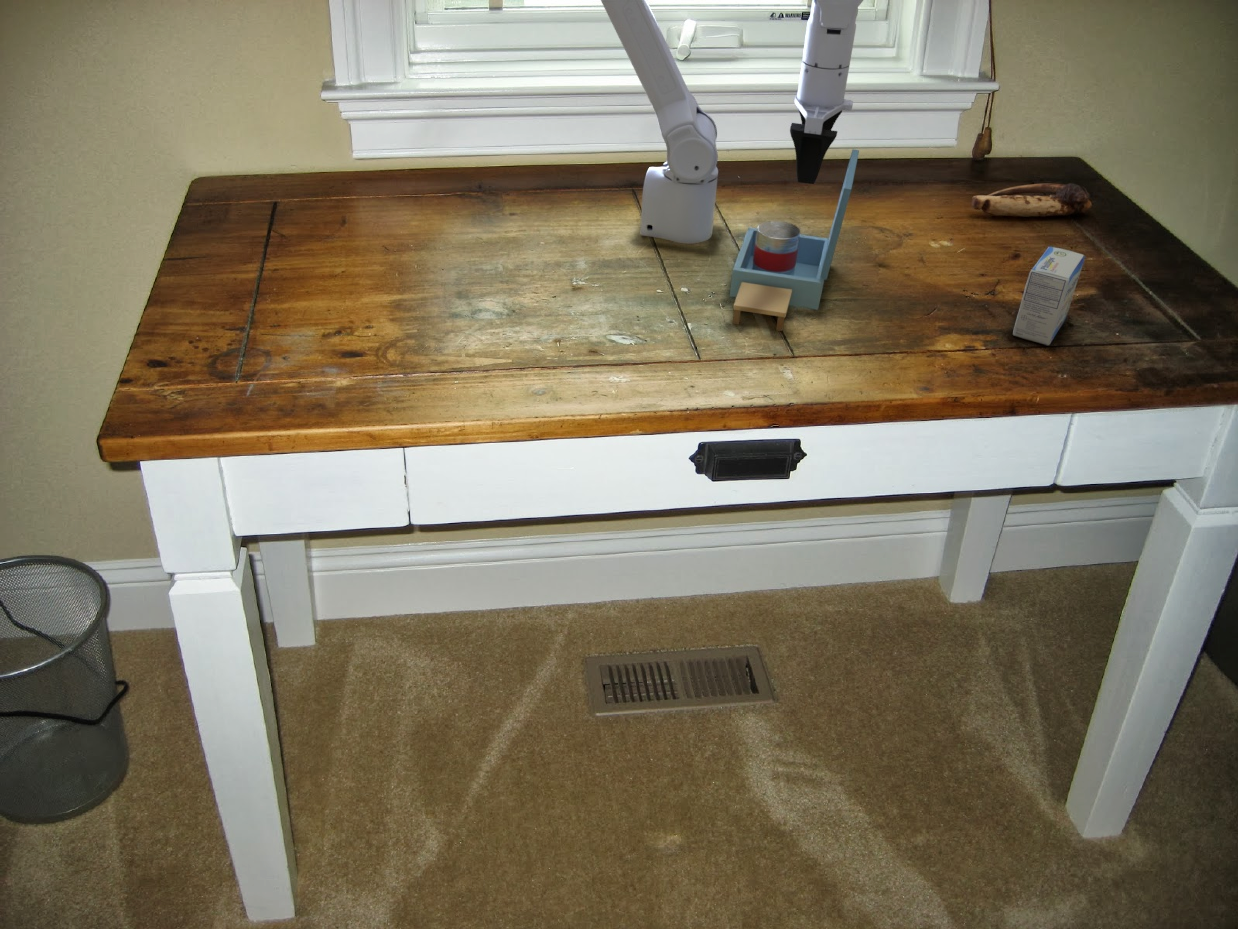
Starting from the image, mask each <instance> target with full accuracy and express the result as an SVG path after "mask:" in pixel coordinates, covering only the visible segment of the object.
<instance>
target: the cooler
mask: <svg viewBox="0 0 1238 929" xmlns="http://www.w3.org/2000/svg"><path fill="white" fill-rule="evenodd" d="M756 234H757V228H756V227H751V226H750V227H749V226H748V227H747V231H746V233H745V236H744V238H743V241H742V244H741V247H740V249H739V252H738V254H737V257H736V259H735V261H734V265H733V268H732V272H731V273H732V274H731V280H730V283H731V284H730V290H729V297H730V298H731V297H732V298H736V297H737V294H738V291H739V289H740V286H741V283H742V282H745V283H751V284H758V285H764V286H771V287H778V288H784V289H791V290H792V295H791V298H790V302H789V306H788V307H794V308H795V307H796V308H803V309H809V310H816V311H818V310H819V307H820V301H821V298H822V292H823V288H824V283H825V280H824V279H820V275H821V271H822V267H823V262H824V258H825V253H826V249H827V244H828V240H829V237H827V238H826V237H819V236H813V235H807V234H806V235H805V234H800V239H799V246H798V254H797V260H796V266H795V272H794V276H792V275H785V274H778V273H771V272H765V271H758V270H752V266H753V257H754V249H755V242H756Z"/></svg>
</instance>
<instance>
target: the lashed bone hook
mask: <svg viewBox="0 0 1238 929" xmlns="http://www.w3.org/2000/svg"><path fill="white" fill-rule="evenodd" d="M1042 193H1050V195H1030V194H1042ZM1023 194H1029V195H1023ZM1090 197H1091V195H1090V193H1089V192H1088V191H1087V188H1086V187H1084V186H1080V185H1078V184H1075V183H1072V182H1070V183H1067V184H1063V183H1061V184H1060V183H1034V184H1024V185H1017V186H1016V185H1015V186H1011V187H1007V188H1003V189H1000V190H997V191H994V192H992V193H989V194H987V195H985V194H984V195H983V194H982V195H981V194H980V195H978V194H977V195H973V196H972V198H971V206H972V208H973V209H974V210H977V211H981V210H982V212H983V213H985V214H989V215H992V216H1011V217H1014V218H1015V217H1016V218H1020V217H1021V218H1023V217H1025V218H1029V217H1041V218H1042V217H1044V218H1045V217H1056V216H1059V217H1060V216H1061V217H1067V216H1070V215H1075V214H1079V213H1080V214H1081V213H1083V214H1084V213H1086V212H1089V211H1090V210H1091V208H1092V207H1093V206H1092V202H1091V200H1090Z"/></svg>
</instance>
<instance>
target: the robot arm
mask: <svg viewBox="0 0 1238 929" xmlns="http://www.w3.org/2000/svg"><path fill="white" fill-rule="evenodd" d="M600 1H601V4H602V6H603V8H604V10H605V13H606V14H607V16H608V19H609V20H610V22H611V24H612V26H613V28H614V31H615V32H616V35H617V36H618V39H619V41H620V43H621V45H622V47H623V49H624V51H625V53H626V55H627V58H628V59H629V62H630V63H631V66H632V68H633V70H634V72H635V74H636V76H637V78H638V80H639V83H640V84H641V86H642V88H643V90H644V92H645V94H646V96H647V99H648V100H649V102H650V105H651V107H652V109H653V111H654V113H655V116H656V120H657V124H658V128H659V131H660V134H661V137H662V139H663V141H664V143H665V146H666V161H665V162H664V163H663V164H662V166H650V167H649V168H648V169H647V171H646V174H645V177H644V181H643V187H642V196H641V197H642V198H641V211H640V212H641V213H640V227H639V228H640V229H639V235H640V236H645V237H651V238H657V239H663V240H667V241H671V242H674V243H679V244H698V243H703V242H706V241H708V240H709V239H710V238H712V236H713V229H714V218H715V217H714V216H715V208H716V198H717V191H718V190H717V188H718V179H719V178H718V177H719V169H718V167H717V164H718V159H719V154H718V150H717V138H718V129H717V128H718V127H717V125H716V122H715V121H714V119H713V118H712V116H710V115H709V114H708V113H706V112H705V111H704V110H703V109H702V108H701V107H700V105H699V103H698V102H697V99H696V97H695V95H694V94H693V93H691V91H690V89H689V88H688V86H687V84H686V82H685V80H684V78H683V75H682V73H681V71H680V69H679V67H678V65H677V63H676V60H675V58H674V56H673V54H672V52H671V49H670V47H669V45H668V43H667V41H666V38H665V36H664V34H663V32H662V30H661V28H660V26H659V24H658V22H657V19H656V17H655V15H654V13H653V11H652V8H651V6H650V4H649V2H648V0H600ZM863 2H864V0H811V6H810V13H809V14H810V15H809V18H808V20H807V22H806V29H805V37H804V42H803V43H804V45H803V50H802V52H803V53H802V58H801V65H800V70H799V71H800V72H799V77H798V84H797V93H796V95H795V96H794V101H793V102H794V106H795V107H796V108H797V110H798V113H799V116H800V121H801V123H797V122H791V124H790V128H789V133H790V137H791V140H792V142H793V147H794V151H795V163H796V164H795V166H796V180H797V183H802V184H808V185H815V183H816V181H817V179H818V176H819V174H820V170H821V167H822V164H823V161H824V158H825V156H826V153H827V152H828V150H829V148H830V147H831V145H832V144H833V143H834V141H835V140H836V138H837V135H838V131H837V130H833V127H834V125H835V124H836V121H837V120H838V118H839V117H840V116H841V114H842V113H843V111H852V109H853V105H854V101H853V100H852V99H845V95H846V89H847V83H848V78H849V71H850V65H851V60H852V55H853V54H852V53H853V47H854V43H855V42H854V41H855V36H856V30H857V24H856V21H857V17H858V13H859V7H860V5H861V4H862V3H863ZM649 226H652V227H651V228H649Z"/></svg>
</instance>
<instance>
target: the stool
mask: <svg viewBox="0 0 1238 929" xmlns="http://www.w3.org/2000/svg"><path fill="white" fill-rule="evenodd" d="M791 295H792V290H791V289H784V288H778V287H771V286H764V285H758V284H751V283H745V282H742V283H741V286H740V289H739V291H738V294H737V297H735V300H734V303H733V308H732V309H733V310H734V311H733V320H732V324H734V325H740V322H741V316H742V314H741V313H742V312H747V313H748V312H749V313H753V314H761V315H767V316H774V317H777V322H776V328H775V329H776V331H778V332H783V330H784V324H785V318H786V316H787V313H788V311H789V307H790V306H789V302H790V298H791Z"/></svg>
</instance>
